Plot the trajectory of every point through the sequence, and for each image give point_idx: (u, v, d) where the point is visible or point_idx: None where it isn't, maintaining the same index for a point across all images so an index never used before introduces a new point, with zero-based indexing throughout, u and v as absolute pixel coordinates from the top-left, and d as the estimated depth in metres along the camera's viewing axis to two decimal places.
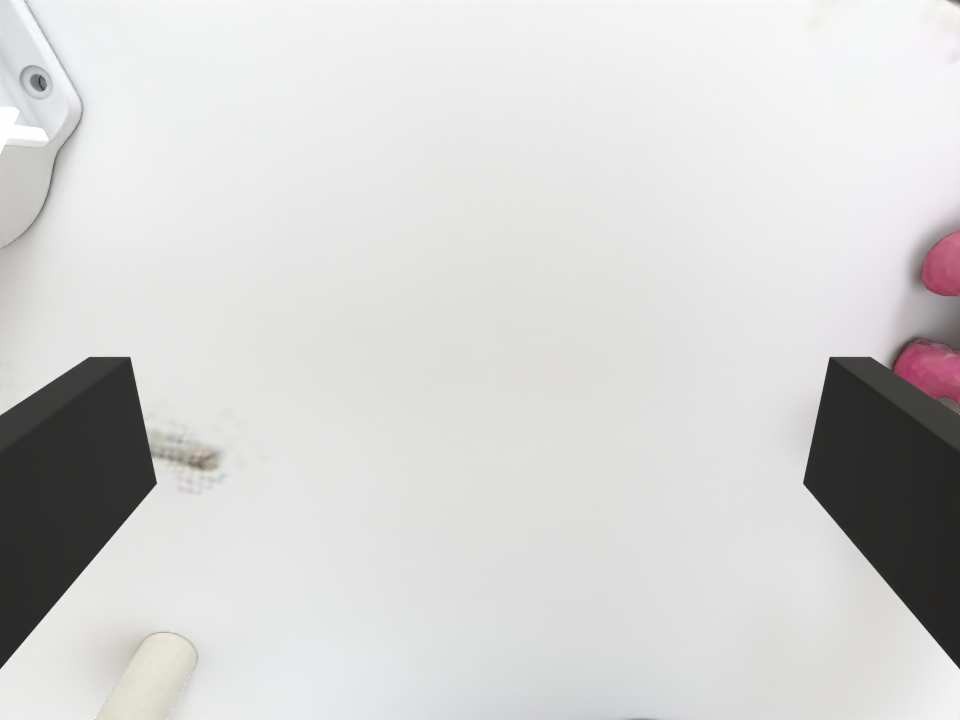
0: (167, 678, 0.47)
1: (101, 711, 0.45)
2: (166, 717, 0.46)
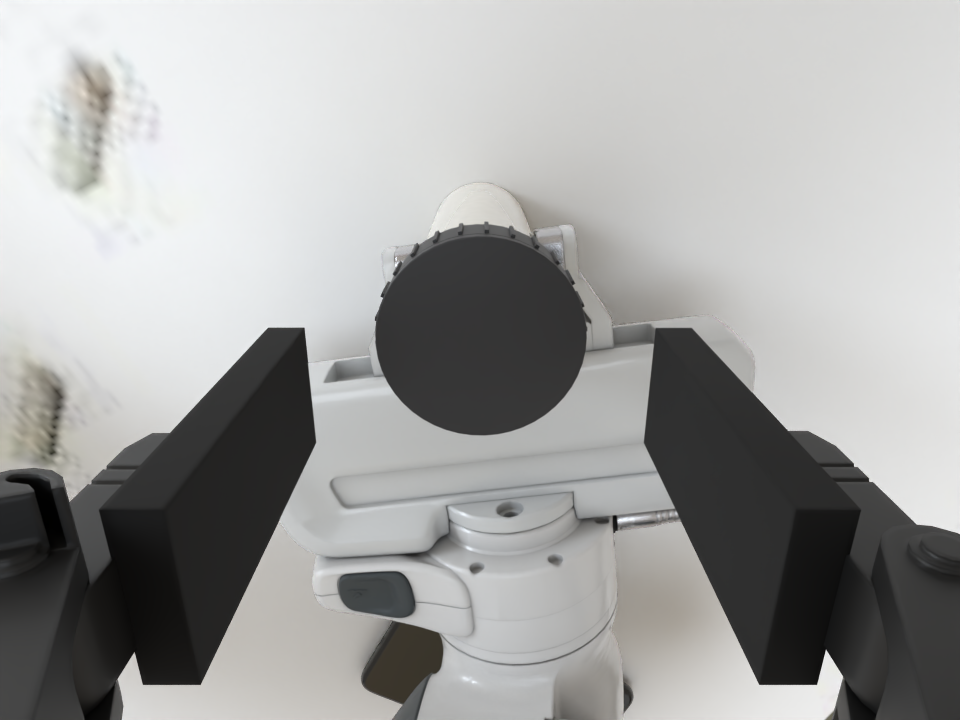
0: (448, 203, 0.27)
1: None
2: (490, 200, 0.25)
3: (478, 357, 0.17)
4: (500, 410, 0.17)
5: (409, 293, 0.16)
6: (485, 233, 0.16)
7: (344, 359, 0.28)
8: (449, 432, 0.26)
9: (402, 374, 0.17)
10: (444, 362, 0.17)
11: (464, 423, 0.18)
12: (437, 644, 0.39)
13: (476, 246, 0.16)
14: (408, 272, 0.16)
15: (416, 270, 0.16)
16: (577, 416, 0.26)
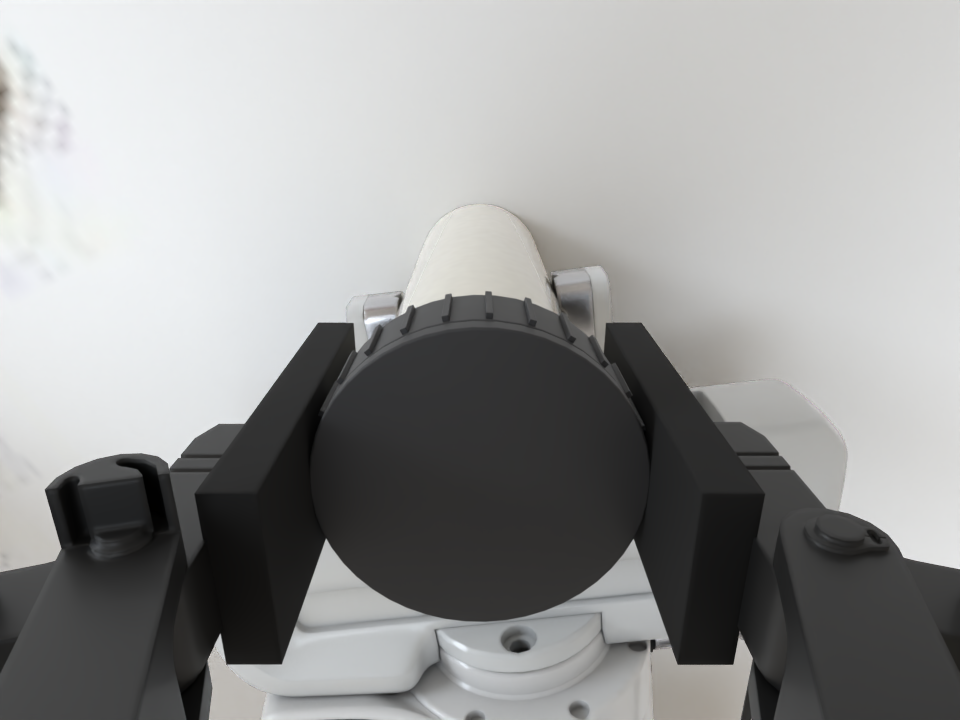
0: (438, 234, 0.21)
1: None
2: (493, 232, 0.19)
3: (475, 511, 0.11)
4: (510, 587, 0.11)
5: (362, 416, 0.10)
6: (487, 319, 0.10)
7: None
8: None
9: (354, 536, 0.11)
10: (421, 518, 0.11)
11: (454, 605, 0.11)
12: None
13: (472, 343, 0.09)
14: (359, 384, 0.10)
15: (372, 381, 0.10)
16: None
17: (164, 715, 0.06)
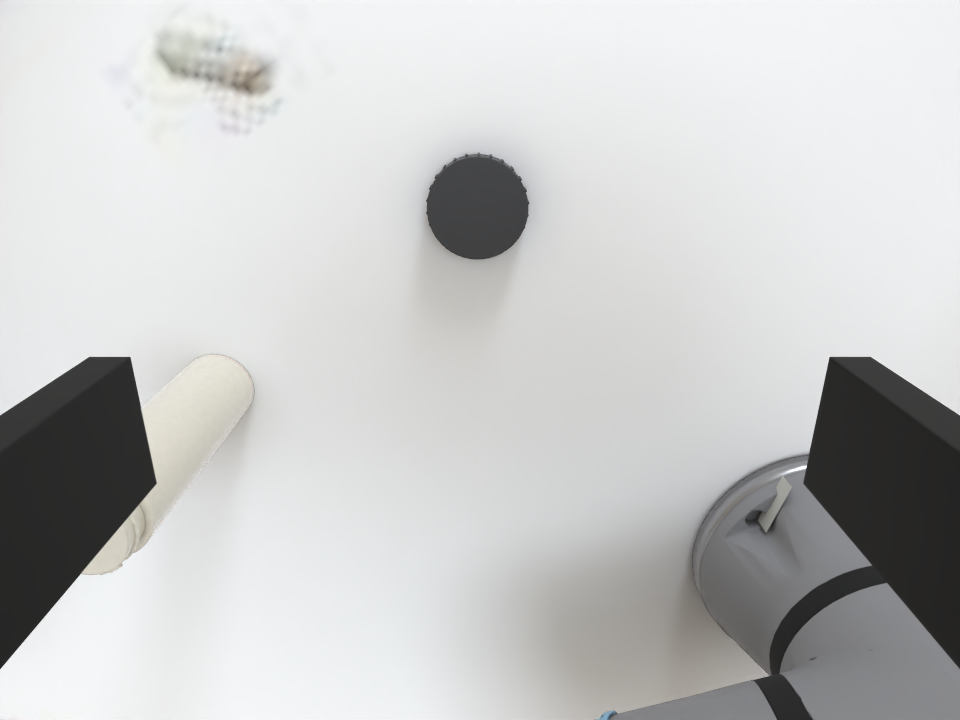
0: (219, 388, 0.37)
1: None
2: (222, 430, 0.36)
3: (472, 216, 0.35)
4: (470, 246, 0.36)
5: (457, 172, 0.34)
6: (502, 162, 0.34)
7: None
8: None
9: (435, 207, 0.35)
10: (457, 211, 0.35)
11: (451, 244, 0.36)
12: None
13: (496, 165, 0.34)
14: (462, 162, 0.34)
15: (466, 163, 0.34)
16: None
17: None
